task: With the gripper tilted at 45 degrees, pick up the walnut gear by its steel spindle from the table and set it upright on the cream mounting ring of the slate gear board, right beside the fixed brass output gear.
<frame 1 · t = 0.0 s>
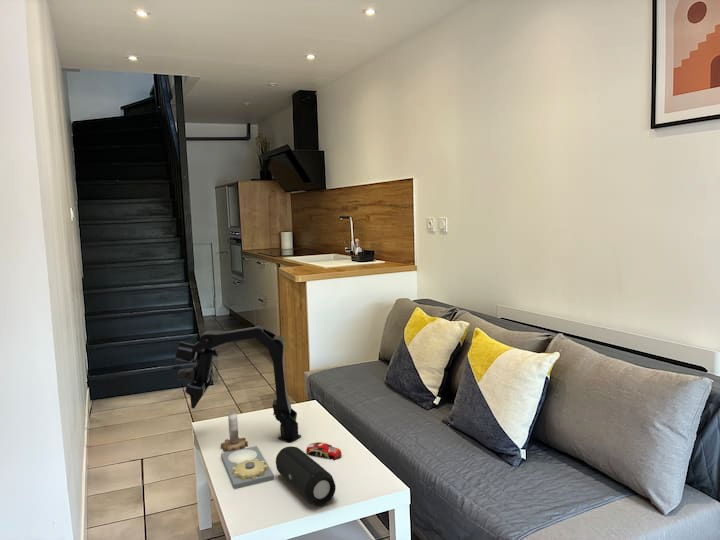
hand: (195, 403, 204), 15 cm above the table, tool pointing down, fingers open, 9 cm apart
walnut gear: (234, 446, 201), on the table
gear board: (246, 467, 185), on the table
portable speaker: (304, 489, 170), on the table
race car: (324, 455, 193), on the table
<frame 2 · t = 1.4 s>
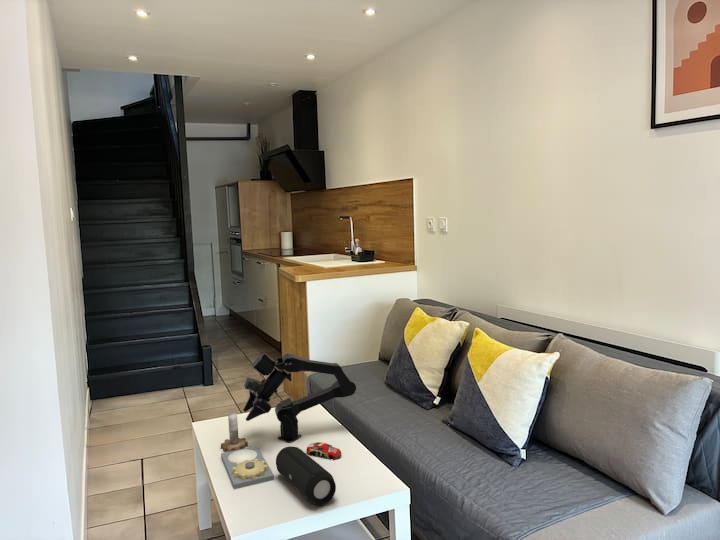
hand: (245, 415, 201), 11 cm above the table, tool tilted 45°, fingers open, 9 cm apart
nothing on the table moved.
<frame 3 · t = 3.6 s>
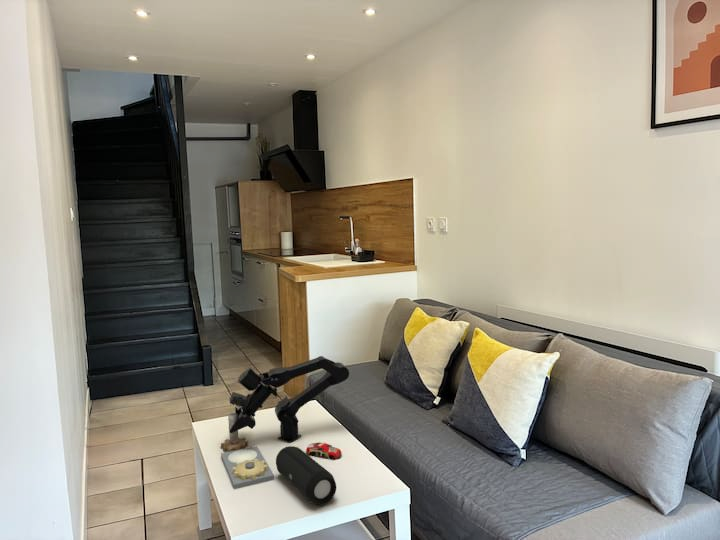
hand: (229, 430, 200), 7 cm above the table, tool tilted 45°, fingers closed on walnut gear, 3 cm apart
walnut gear: (234, 446, 201), on the table, touching gripper
everything else where it was.
when the fingers open (9 cm above the table, at t = 8.3 s): walnut gear drops 1 cm, resting on gear board.
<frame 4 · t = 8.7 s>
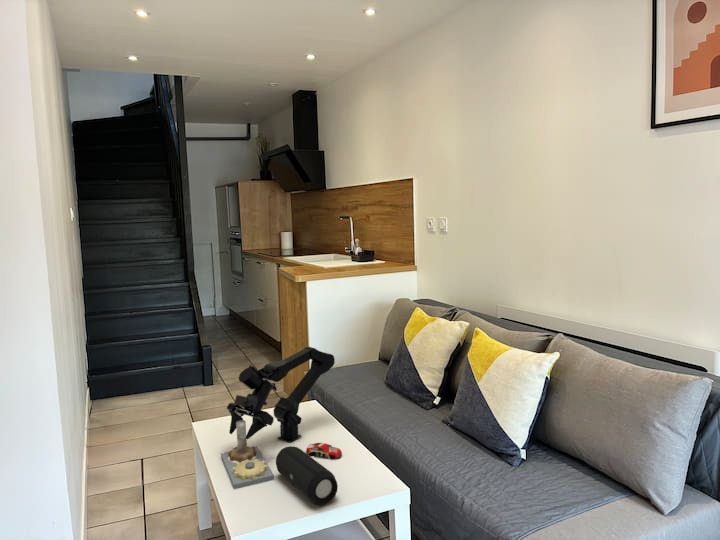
hand: (238, 436, 188), 10 cm above the table, tool tilted 45°, fingers open, 8 cm apart
walnut gear: (242, 455, 190), point 2 cm above the table, touching gear board
everything else where it was.
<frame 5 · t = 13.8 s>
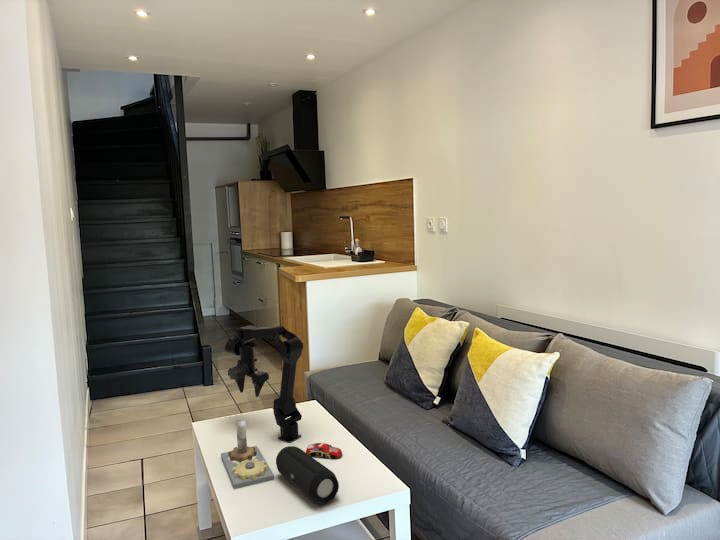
hand: (249, 394, 219), 13 cm above the table, tool pointing down, fingers open, 9 cm apart
nothing on the table moved.
at the end: walnut gear 0.1 cm from the target spot, point 1.7 cm above the table; walnut gear tilted 0°; the gripper is holding nothing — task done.
